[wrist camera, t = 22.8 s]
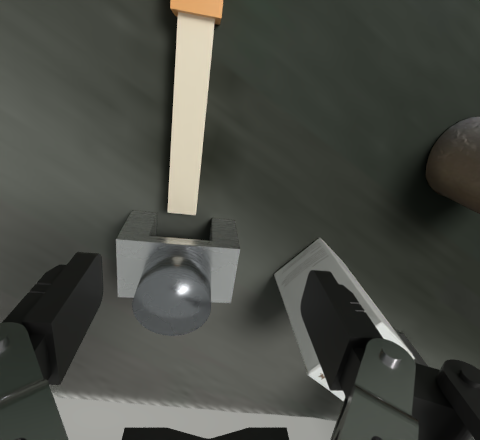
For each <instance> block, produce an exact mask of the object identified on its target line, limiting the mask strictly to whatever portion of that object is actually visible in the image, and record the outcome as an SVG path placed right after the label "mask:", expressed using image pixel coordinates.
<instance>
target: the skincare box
mask: <svg viewBox="0 0 480 440" xmlns="http://www.w3.org/2000/svg"><path fill="white" fill-rule="evenodd" d="M311 270H319V271H330V272H331V273H332V274H333V276H334V278H335V279H336V281H337V282H338V284H341V285H344V286H345V287H346V288H347V289H348V290H350V291H351V292H352V293H353V294H354V296H355V297H356V298H357V300H358V301H359V304H361V306H362V307H363V309H364V310H365V311H364V312H366V313H367V315H368V316H369V318H370V319H371V321H372V322H373V324H374V325H375V327H376V328H377V330H378V331H379V333H380V334H381V335H382V337H383V338H384V339H386V340H390V341H392V342H394V343H396V344H398V345H399V346H401V347H402V348H404V349H405V350H406V351H407V352H408V353H409V354H410V355H411V357H412V358H413V359H415V358H414V356H413V355H412V353H411V352H410V350H409V349H408V348H407V347H406V345H405V344H404V343H403V341H402V340H401V339H400V337H399V336H398V335H397V333H396V332H395V331H394V329H393V328H392V327H391V325H390V324H389V322H388V321H387V320H386V318H385V317H384V316H383V314H382V313H381V312H380V310H379V309H378V308H377V306H376V305H375V304H374V302H373V301H372V300H371V298H370V297H369V296H368V294H367V293H366V292H365V290H364V289H363V288H362V286H361V285H360V284H359V282H358V281H357V280H356V278H355V277H354V276H353V274H352V273H351V272H350V270H349V269H348V268H347V266H346V265H345V264H344V262H343V261H342V260H341V259H340V258H339V257H338V256H337V255H336V254H335V253H334V252H333V251H332V249H331V248H330V247H329V246H328V245H327V244H326V243H325V242H324V241H323V240H322V239H321V238H318V239H317V240H316V241H315V242H314V243H312V244H311V245H310V246H308V247H307V248H306V249H305V250H303V251H302V252H301V253H300V254H298V255H297V256H296V257H295V258H293V259H292V260H291V261H290V262H288V263H287V264H286V265H285V266H283V267H282V268H281V269H280V270H278V271H277V272H276V273H275V274H274V276H275V279H276V282H277V285H278V288H279V291H280V293H281V296H282V299H283V302H284V305H285V308H286V311H287V314H288V317H289V320H290V323H291V326H292V329H293V332H294V335H295V337H296V340H297V343H298V346H299V349H300V352H301V355H302V358H303V361H304V365H305V368H306V373H307V375H308V376H310V377H311V378H312V379H314V380H315V381H317V382H318V383H319V384H321V385H322V386H323V387H325V388H326V389H328V390H329V391H330V389H329V386H328V384H327V381H326V378H325V376H324V373H323V371H322V368H321V366H320V363H319V360H318V358H317V355H316V353H315V350H314V347H313V345H312V342H311V340H310V337H309V335H308V332H307V329H306V327H305V324H304V322H303V319H302V316H301V310H300V305H301V299H302V296H303V292H304V288H305V285H306V281H307V277H308V274H309V272H310V271H311ZM330 392H332V393H333V394H334V395H336V396H337V397H338V398H340V399H341V400H342V401H344V399H345V394H344V392H343V391H330Z"/></svg>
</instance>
